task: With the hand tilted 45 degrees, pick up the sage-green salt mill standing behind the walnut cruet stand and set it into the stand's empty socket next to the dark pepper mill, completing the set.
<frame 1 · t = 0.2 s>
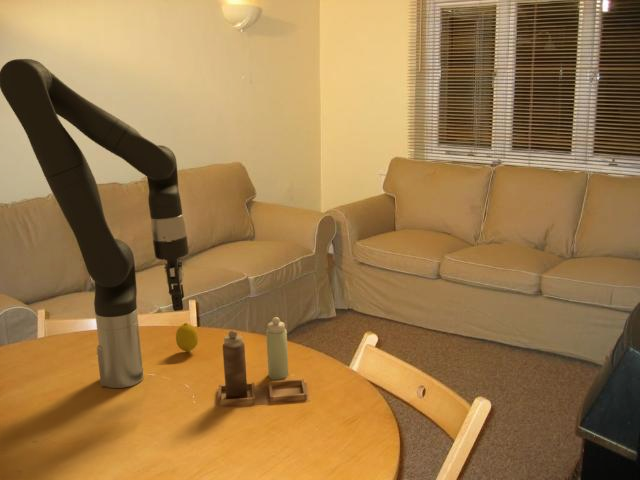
hand: (179, 304, 166), 18 cm above the table, tool pointing down, fingers open, 8 cm apart
cruet stand: (262, 399, 158), on the table
lemon: (188, 353, 185), on the table
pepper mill: (236, 396, 157), point 1 cm above the table, touching cruet stand
salt mill: (278, 379, 167), on the table
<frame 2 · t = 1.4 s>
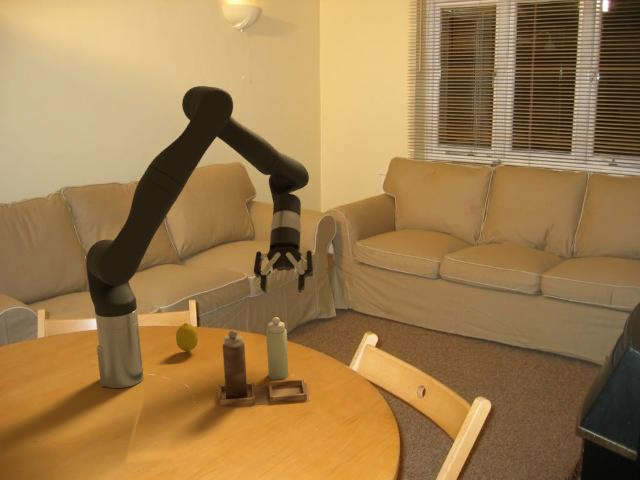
hand: (282, 291, 174), 18 cm above the table, tool tilted 45°, fingers open, 8 cm apart
nothing on the table moved.
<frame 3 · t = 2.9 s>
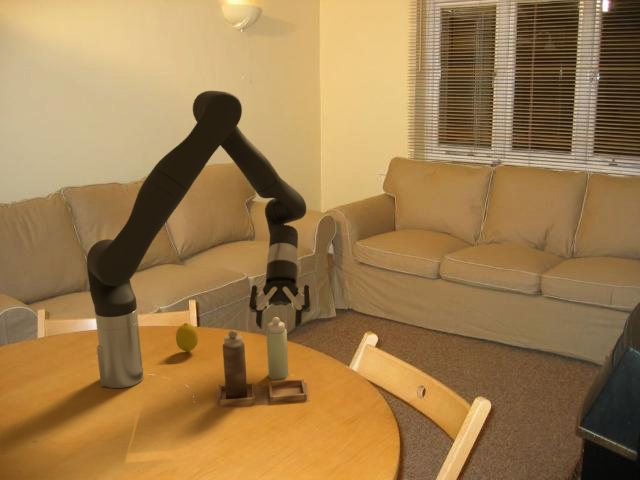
hand: (278, 327, 168), 11 cm above the table, tool tilted 45°, fingers open, 8 cm apart
nothing on the table moved.
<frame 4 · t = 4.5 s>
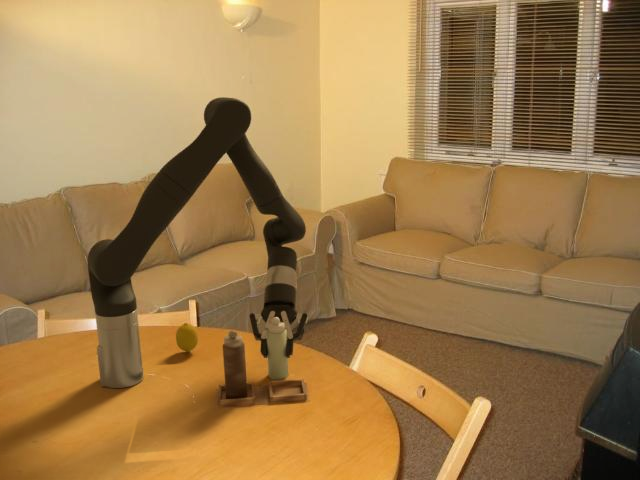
hand: (276, 356, 164), 7 cm above the table, tool tilted 45°, fingers closed on salt mill, 4 cm apart
salt mill: (278, 379, 167), on the table, touching gripper
everything else where it was.
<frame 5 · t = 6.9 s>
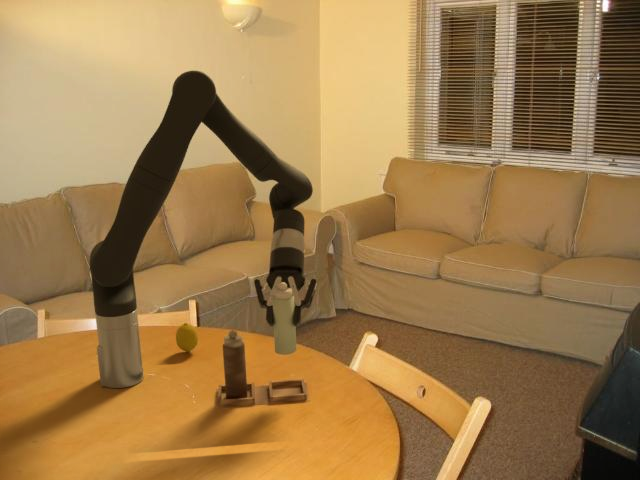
hand: (283, 324, 152), 18 cm above the table, tool tilted 45°, fingers closed on salt mill, 4 cm apart
salt mill: (285, 350, 156), point 11 cm above the table, touching gripper
everything else where it was.
when the fingers open (9 cm above the table, at t = 9.2 s): salt mill stays where it is, resting on cruet stand.
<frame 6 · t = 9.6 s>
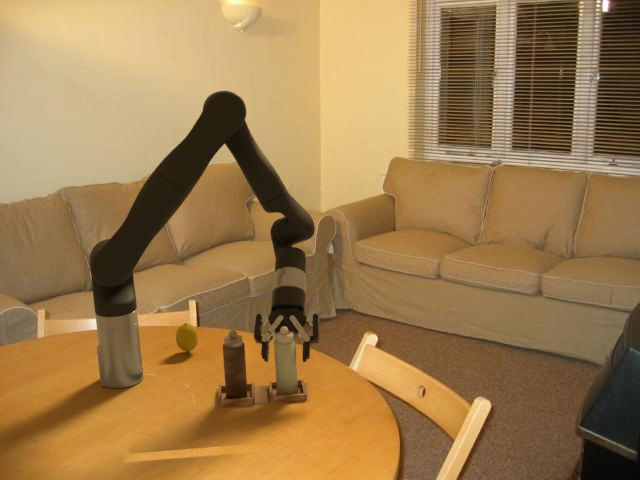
hand: (285, 360, 155), 9 cm above the table, tool tilted 45°, fingers open, 8 cm apart
salt mill: (287, 392, 158), point 1 cm above the table, touching cruet stand
everything else where it was.
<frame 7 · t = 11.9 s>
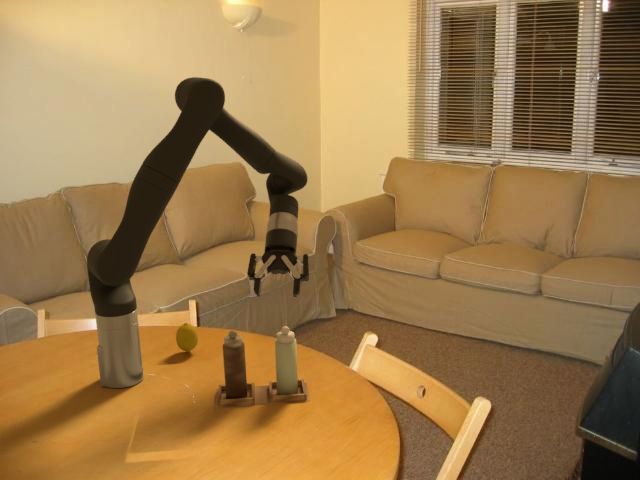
hand: (276, 295, 167), 19 cm above the table, tool tilted 45°, fingers open, 8 cm apart
nothing on the table moved.
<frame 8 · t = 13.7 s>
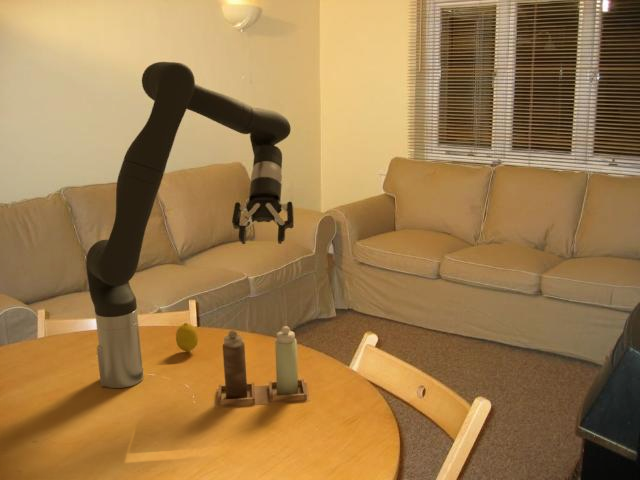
hand: (261, 242, 168), 31 cm above the table, tool tilted 45°, fingers open, 8 cm apart
nothing on the table moved.
at the end: salt mill 0.1 cm from the target spot on the cruet stand, point 1.2 cm above the cruet stand's base; salt mill tilted 1°; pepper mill moved 0.0 cm from its start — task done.
